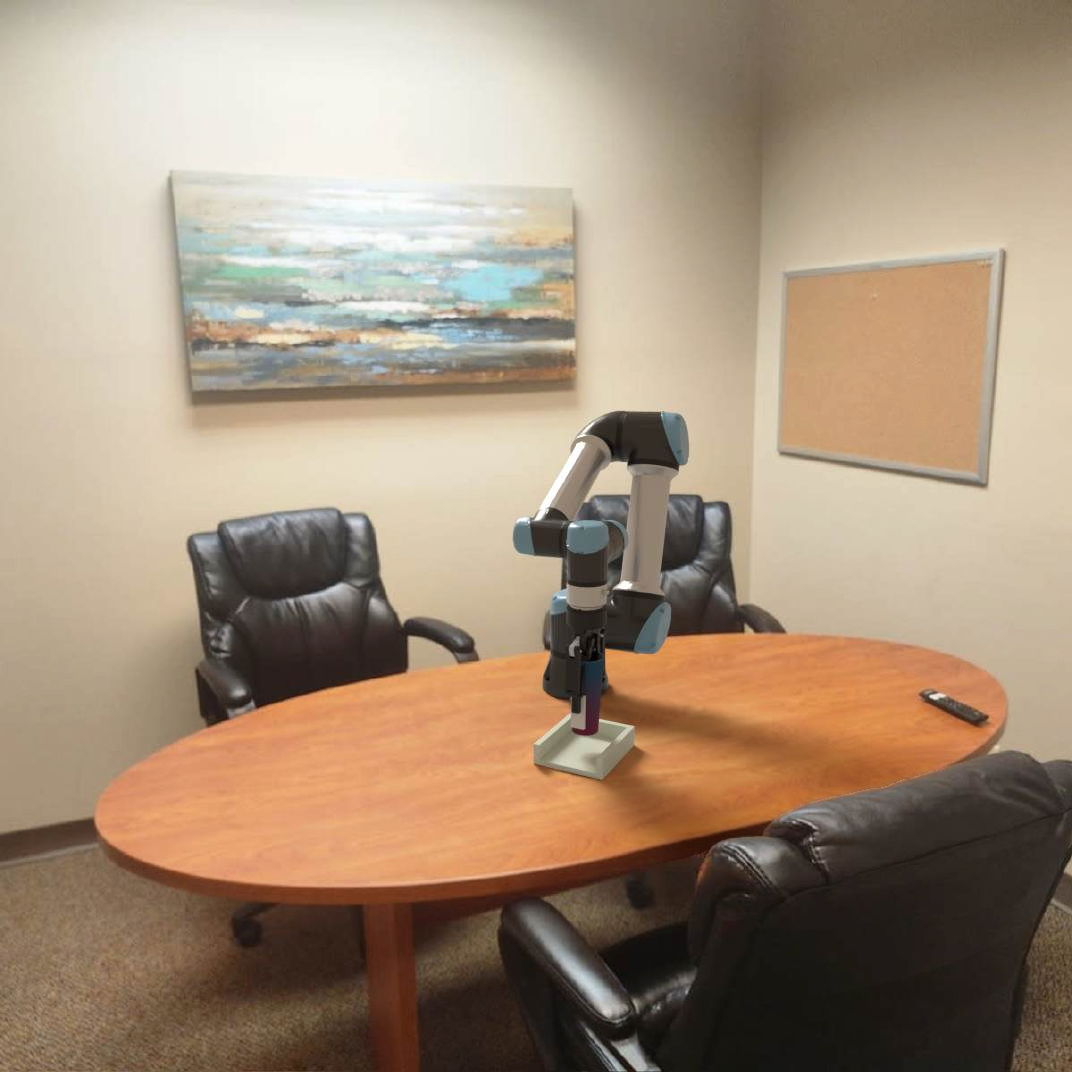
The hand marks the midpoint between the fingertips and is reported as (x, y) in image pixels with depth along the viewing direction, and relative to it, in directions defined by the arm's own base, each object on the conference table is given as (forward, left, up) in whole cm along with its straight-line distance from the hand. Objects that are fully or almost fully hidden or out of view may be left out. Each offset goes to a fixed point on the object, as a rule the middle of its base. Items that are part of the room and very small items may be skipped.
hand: (585, 720), depth 168 cm
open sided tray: (0, 0, -7) cm, 7 cm away
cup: (0, 0, -2) cm, 2 cm away
